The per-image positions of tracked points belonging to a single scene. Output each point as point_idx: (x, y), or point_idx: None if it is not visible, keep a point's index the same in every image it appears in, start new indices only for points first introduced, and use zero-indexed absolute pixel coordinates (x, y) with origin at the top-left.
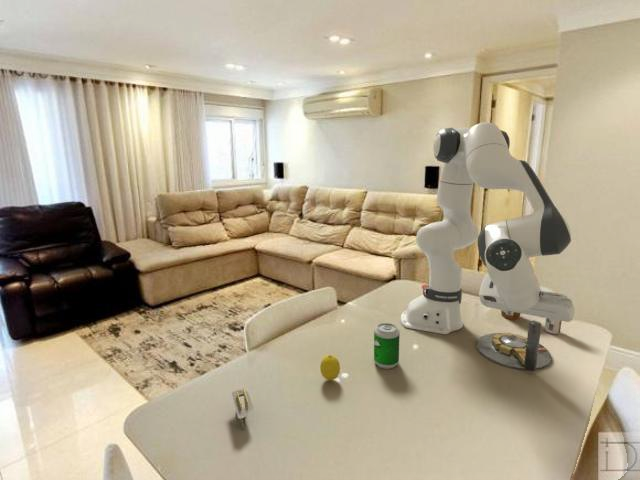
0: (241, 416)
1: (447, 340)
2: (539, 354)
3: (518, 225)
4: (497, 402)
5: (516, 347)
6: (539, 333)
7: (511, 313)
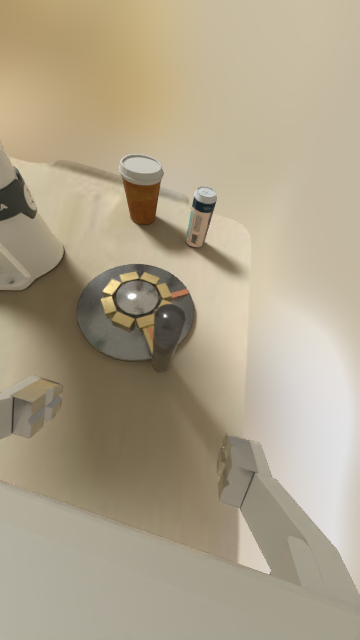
0: None
1: (22, 308)
2: None
3: None
4: None
5: (141, 314)
6: (179, 336)
7: (36, 429)
